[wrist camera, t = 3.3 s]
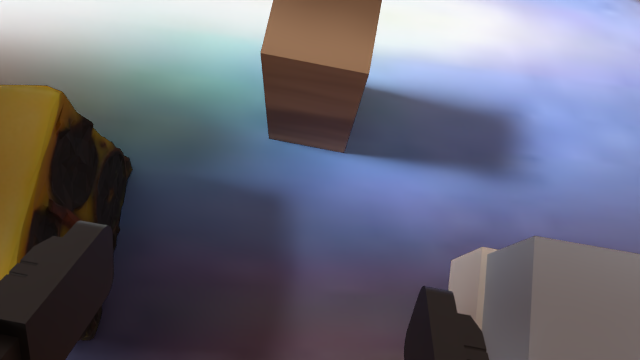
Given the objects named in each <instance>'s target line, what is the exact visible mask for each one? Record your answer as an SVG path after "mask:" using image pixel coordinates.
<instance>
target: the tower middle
mask: <svg viewBox="0 0 640 360" xmlns="http://www.w3.org/2000/svg"><path fill="white" fill-rule="evenodd" d="M482 332H483V336H484V341H485V345H486V349H487V350H486V353H488V357H489V360H640V254H636V253H630V252H624V251H619V250H613V249H607V248H601V247H595V246H590V245H584V244H578V243H572V242H567V241H561V240H555V239H549V238H543V237H538V236H533V237H531V238H528V239H525V240H523V241H520V242H518V243H515V244H513V245H510V246H507V247H505V248H502V249H500V250H497V251H495V252H492V253H489V254H487V266H486V279H485V293H484V306H483V320H482Z"/></svg>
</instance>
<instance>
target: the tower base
mask: <svg viewBox="0 0 640 360" xmlns="http://www.w3.org/2000/svg"><path fill="white" fill-rule="evenodd" d="M495 251H497V250H496V249H491V248H486V247H481V248H478V249H476V250H474V251H472V252H469V253H467V254H465V255H462V256H460V257H458V258H456V259H453V260H451V268H450V278H449V287H448V291H452V292H453V294H454V298H455V303H456V308H457V313H460V314H465V315H471V317H472V318H473V320H474V321H475V322H476V324H477V325H478V327H479V328H480V329H481V331H482V320H483V306H484V293H485V279H486V266H487V254H489V253H492V252H495Z"/></svg>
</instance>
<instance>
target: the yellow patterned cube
mask: <svg viewBox="0 0 640 360" xmlns="http://www.w3.org/2000/svg"><path fill="white" fill-rule="evenodd" d="M131 172H132V167H131V163H130V159H129V158H128V157H126V156H124V155H123V152H122V151H121V149H120V148H116V147H115V146H114V144H113V142H111V141H108V140H107V139H106V138H105V137H102V136H101V135H100V134H99V133H98V132H97V131H96V130H95V129H94V128H93V123H92V122H91V121H89V120H87V119H86V118H84V117H83V116H81V115H80V114H79V113H77V112H76V110H75V109H74V107H73V106H72V104H71V103H70V102H69V100H68V99H67V97H66V96H65V95H64V93H63V92H62V91H59V90H57V89H54V88H52V87H49V86H41V85H0V280H1V279H2V278H3V277H4V276H5V275H6V274H9V271H10V270H11V269H12V268H13V267H14V266H15V265H16V264H17V263H20V260H21V259H22V258H23V257H24V256H25V255H26V254H27V253H28V252H29V251H30V250H31V249H32V248H33V247H34V246H35V245H37V244H39V243H41V242H43V241H45V240H47V239H49V238H51V237H52V236H57V237H63V236H64V235H65V234H66V233H67V232H68V231H69V230H70V229H71V228H72V226H73V225H74V224H75V223H76V222H78V221H86V222H92V223H97V224H102V225H108V226H110V227H111V229H112V234H113V253H114V250H115V247H116V240H117V235H118V233H119V231H120V228H119V226H118V225H119V221H120V215H121V208H122V205H123V202H124V197H125V191H126V185H127V179H128V177H129V176H130V174H131ZM101 314H102V305H101V307H100V308H99V310H98V311H97V313H96V314H95V316H94V317H93V319H92V320H91V322H90V323H89V325H88V326H87V328H86V329H85V331H84V332H83V334H82V335H81V337H80V338H79V340H91V339H93V338H94V336H95V334H96V331H97V328H98V325H99V322H100V319H101ZM79 340H78V341H79Z"/></svg>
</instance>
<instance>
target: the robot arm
mask: <svg viewBox="0 0 640 360" xmlns="http://www.w3.org/2000/svg"><path fill="white" fill-rule="evenodd" d="M113 277H114V264H113V234H112V229H111V227H110V226H108V225H102V224H97V223H92V222H86V221H78V222H76V223H75V224H74V225H73V226H72V228H71V229H70V230H69V231H68V232H67V233H66V234H65V235H64V236H63V237H57V236H52V237H51V238H49V239H47V240H45V241H43V242H41V243H39V244H37V245H35V246H34V247H33V248H32V249H31V250H30V251H29V252H28V253H27V254H26V255H25V256H24V257H23V258H22V259H21V260H20V263H17V264H16V265H15V266H14V267H13V268H12V269H11V270H10V271H9V274H6V275H5V276H4V277H3V278H2V279H1V280H0V360H65V359H66V358H67V356H68V355H69V353H70V352H71V350H72V349H73V347H74V346H75V344H76V343H77V341H78V340H79V338H80V337H81V335H82V334H83V332H84V331H85V329H86V328H87V326H88V325H89V323H90V322H91V320H92V319H93V317H94V316H95V314H96V313H97V311H98V310H99V308H100V307H101V305H102V304H103V302H104V301H105V299H106V298H107V296H108V294H109V292H110V289H111V286H112V282H113ZM486 350H487V349H486V345H485V341H484V336H483V332H482V331H481V329H480V328H479V327H478V325H477V324H476V322H475V321H474V320H473V318H472V317H471V315H465V314H460V313H457V308H456V303H455V298H454V294H453V292H452V291H448V290H442V289H437V288H432V287H426V286H423V287H422V288H421V290H420V292H419V295H418V298H417V301H416V305H415V308H414V311H413V314H412V317H411V320H410V323H409V326H408V329H407V333H406V338H405V345H404V360H489V357H488V353H486Z"/></svg>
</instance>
